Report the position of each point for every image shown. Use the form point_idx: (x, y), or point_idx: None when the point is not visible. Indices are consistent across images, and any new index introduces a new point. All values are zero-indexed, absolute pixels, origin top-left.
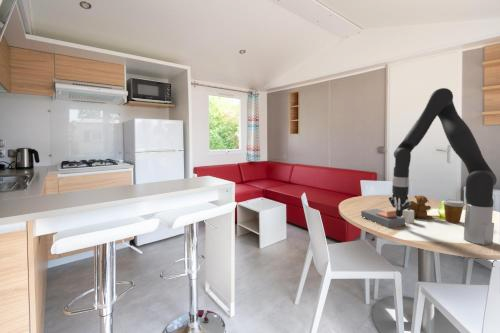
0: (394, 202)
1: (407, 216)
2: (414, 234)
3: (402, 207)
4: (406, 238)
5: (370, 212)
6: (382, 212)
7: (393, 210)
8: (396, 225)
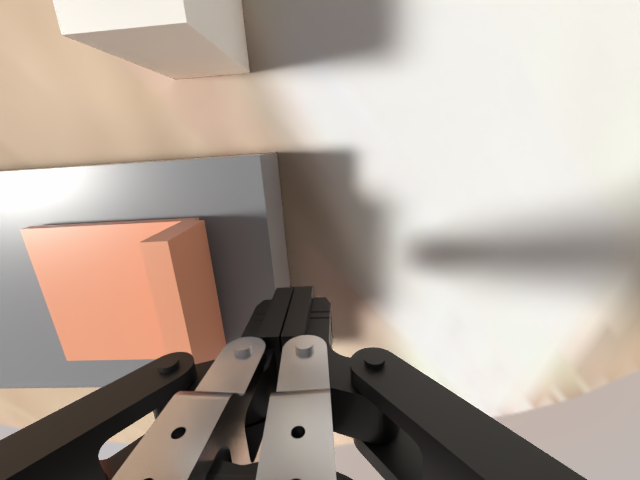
0: (100, 470)
1: (203, 54)
2: (488, 276)
3: (386, 467)
4: (511, 386)
5: (6, 350)
6: (54, 289)
7: (155, 304)
8: (285, 259)
